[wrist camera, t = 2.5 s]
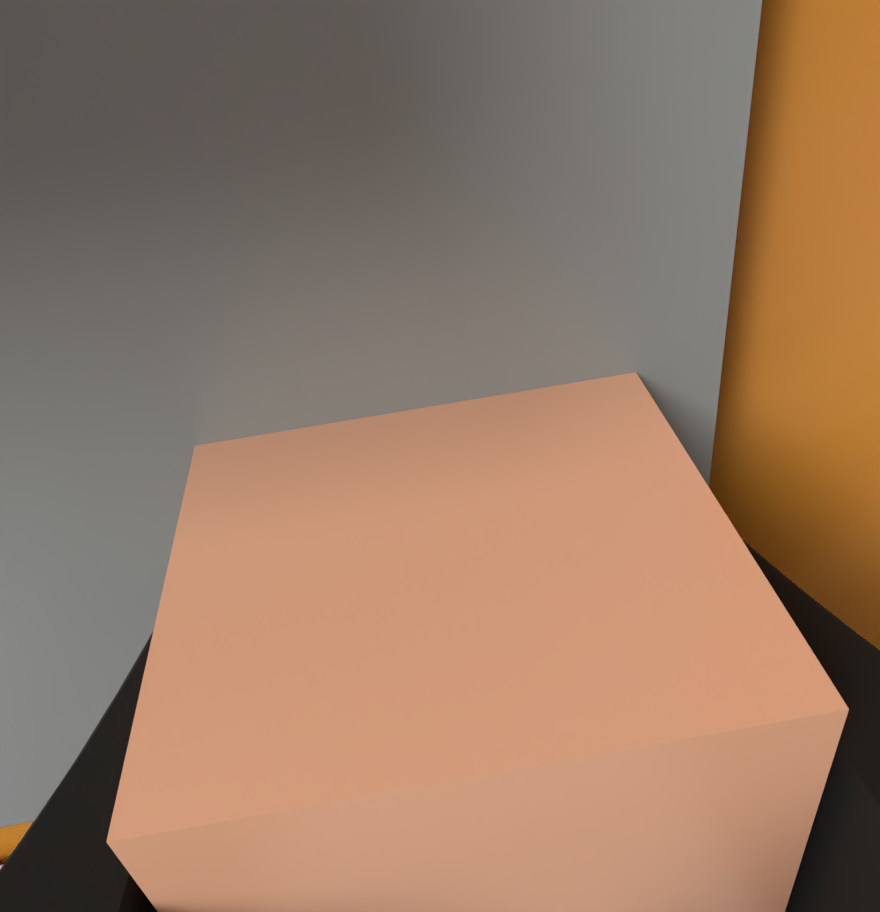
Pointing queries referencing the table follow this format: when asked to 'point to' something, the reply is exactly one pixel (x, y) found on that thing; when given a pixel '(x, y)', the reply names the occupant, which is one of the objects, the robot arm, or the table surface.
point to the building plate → (321, 263)
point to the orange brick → (471, 675)
